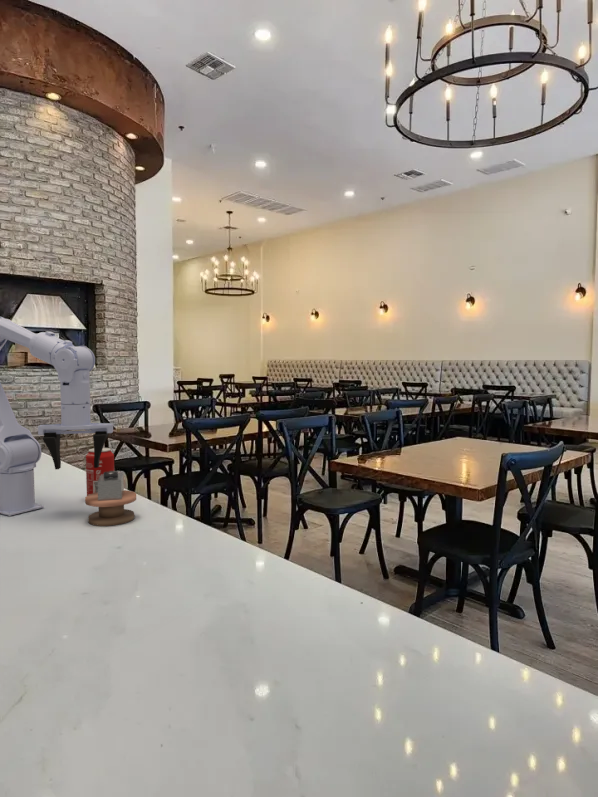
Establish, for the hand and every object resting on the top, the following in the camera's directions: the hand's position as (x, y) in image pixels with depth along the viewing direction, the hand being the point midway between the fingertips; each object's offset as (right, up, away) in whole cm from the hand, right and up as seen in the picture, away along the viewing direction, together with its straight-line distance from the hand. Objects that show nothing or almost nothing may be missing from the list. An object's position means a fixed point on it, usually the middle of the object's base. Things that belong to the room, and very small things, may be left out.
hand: (77, 467), depth 115 cm
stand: (+8, -11, -2) cm, 13 cm away
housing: (+8, -6, -2) cm, 10 cm away
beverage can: (-1, -10, +15) cm, 18 cm away
